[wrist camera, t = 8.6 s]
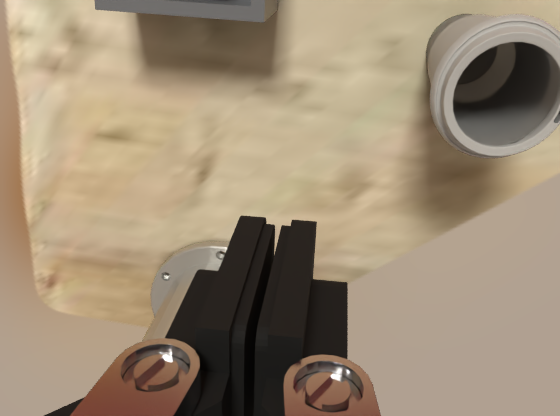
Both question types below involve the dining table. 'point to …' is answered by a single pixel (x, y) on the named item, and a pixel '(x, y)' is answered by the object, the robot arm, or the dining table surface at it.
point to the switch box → (196, 8)
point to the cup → (494, 82)
